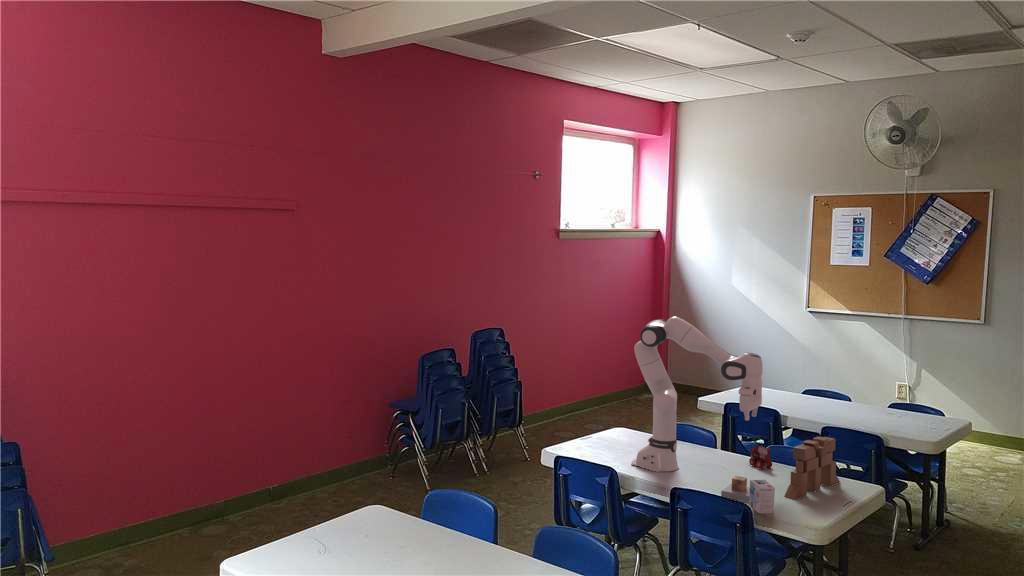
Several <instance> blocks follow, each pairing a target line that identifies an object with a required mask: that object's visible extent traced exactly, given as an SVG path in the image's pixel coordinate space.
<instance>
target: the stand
mask: <svg viewBox="0 0 1024 576" xmlns="http://www.w3.org/2000/svg"><path fill="white" fill-rule="evenodd" d="M749 494H750V486H747V489H746V490H745V491H744V492H740V491H735V490H732V483H730V484H728V485H727V486H726V487H725V488H723V489H722V490H721V492H720V495H721V497H722V496H725V497H724V498H727V497H729V498H728V499H732V500H737V501H741V500H742V501H741V502H747V503H749Z"/></svg>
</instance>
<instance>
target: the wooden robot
mask: <svg viewBox="0 0 1024 576" xmlns="http://www.w3.org/2000/svg"><path fill="white" fill-rule="evenodd" d="M792 451H793V452H792V453H793V454H792V459H793V460H795V469H793V470H790V484H789V485H788V486H787V489H786V491H785V493H784V496H783V498H784V497H786V498H785V499H788V498H789V499H788V500H791V499H792V501H797V500H799V499H802V498H804V497H806V496H807V494H808V492H812V491H814V492H813V493H816V492H818V490H819V491H820V490H821V486H825V485H826V486H825V487H829V486H831V487H833V486H835V485H837V484H836V483H838V484H840V483H841V480H840V479H839V477H838V475H837V474H836V473H837V462H836V461H834V460H833V456H834V455H833V453H834V451H836V439H835V438H833V437H828V436H816V437H813V438H812V439H807V440H803V441H802V444H799V445H796V446H793V450H792ZM839 482H840V483H839ZM821 484H823V485H821ZM834 484H835V485H834ZM832 485H833V486H832ZM815 491H816V492H815Z"/></svg>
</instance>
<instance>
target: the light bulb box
mask: <svg viewBox="0 0 1024 576" xmlns="http://www.w3.org/2000/svg"><path fill="white" fill-rule="evenodd" d="M749 487H750V494H749V502H748V505H749V506H750V507H751V508H752V509H753V511H756V513H757V514H774V513H775V491H776V487H775V486H773V485H772V484H771V483H769V481H767V480H765V479H750V480H749Z"/></svg>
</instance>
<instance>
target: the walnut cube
mask: <svg viewBox="0 0 1024 576" xmlns="http://www.w3.org/2000/svg"><path fill="white" fill-rule="evenodd" d="M747 483H748V478H747V477H745V476H739V475H735V476H733V477H732V478H731V484H732V490H735V491H740V492H744V491H745V490H746V489H747V487H748V486H747V485H748V484H747Z"/></svg>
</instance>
